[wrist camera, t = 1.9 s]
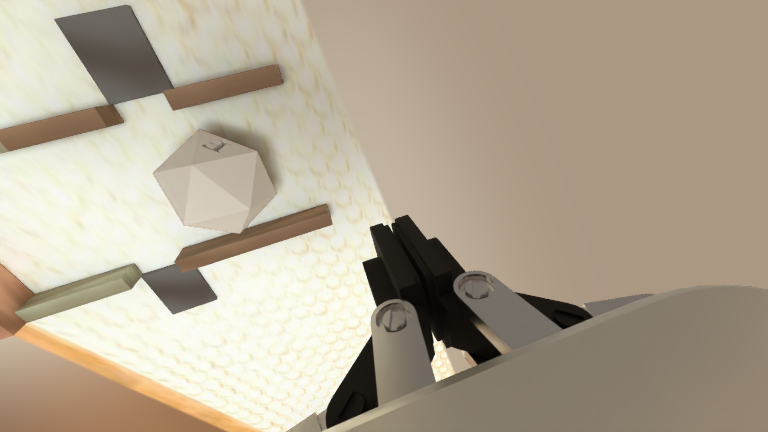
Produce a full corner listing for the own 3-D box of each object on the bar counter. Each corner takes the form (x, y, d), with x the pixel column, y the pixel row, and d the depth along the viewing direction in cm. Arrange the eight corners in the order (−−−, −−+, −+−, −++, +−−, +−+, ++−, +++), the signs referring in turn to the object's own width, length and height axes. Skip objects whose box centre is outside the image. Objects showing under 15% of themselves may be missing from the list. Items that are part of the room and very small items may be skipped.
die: (294, 175, 31) (270, 135, 22) (260, 249, 29) (218, 240, 20) (222, 148, 31) (166, 95, 21) (183, 221, 29) (104, 199, 20)
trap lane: (-243, 79, 19) (-366, 80, 15) (248, -18, 23) (239, -34, 19) (73, 346, 32) (46, 378, 29) (344, 254, 37) (349, 273, 33)
